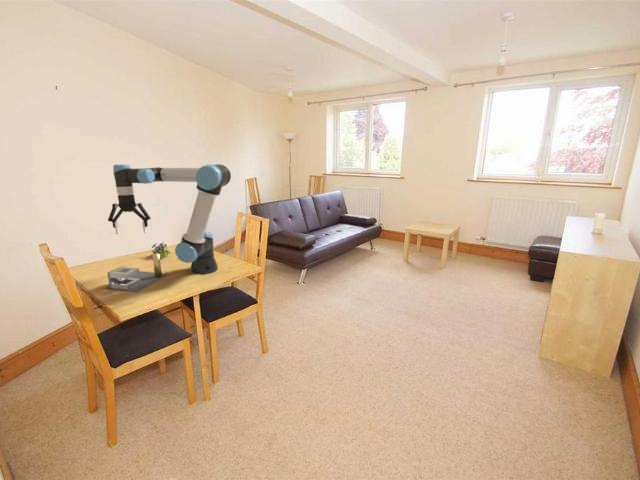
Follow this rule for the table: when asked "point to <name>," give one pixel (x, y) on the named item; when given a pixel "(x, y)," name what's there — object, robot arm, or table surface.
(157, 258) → the pin
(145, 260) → the table surface
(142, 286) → the mat
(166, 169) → the robot arm
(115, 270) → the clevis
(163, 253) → the passion flower
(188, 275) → the table surface
